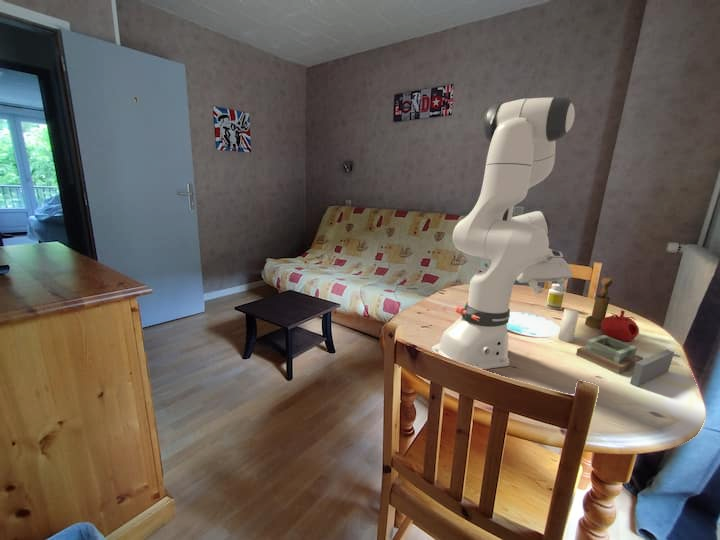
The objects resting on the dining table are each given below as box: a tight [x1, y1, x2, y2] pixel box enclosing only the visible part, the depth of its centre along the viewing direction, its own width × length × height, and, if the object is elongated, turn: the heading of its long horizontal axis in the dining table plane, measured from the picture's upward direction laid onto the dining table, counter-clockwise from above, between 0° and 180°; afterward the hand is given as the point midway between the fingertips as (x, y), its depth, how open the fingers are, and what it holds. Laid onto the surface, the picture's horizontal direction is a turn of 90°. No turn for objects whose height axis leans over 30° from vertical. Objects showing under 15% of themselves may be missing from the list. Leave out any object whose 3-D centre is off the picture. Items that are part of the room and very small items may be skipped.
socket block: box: [575, 334, 644, 375], centre depth 92 cm, size 12×11×5 cm
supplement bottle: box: [545, 283, 565, 310], centre depth 130 cm, size 5×5×10 cm
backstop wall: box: [629, 349, 675, 387], centre depth 83 cm, size 16×2×6 cm, turn 116°
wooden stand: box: [584, 277, 613, 331], centre depth 112 cm, size 7×6×18 cm
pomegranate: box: [601, 310, 640, 342], centre depth 105 cm, size 10×10×9 cm
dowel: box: [558, 308, 580, 343], centre depth 103 cm, size 4×4×10 cm
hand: (551, 291), depth 109 cm, fingers open, 8 cm apart
